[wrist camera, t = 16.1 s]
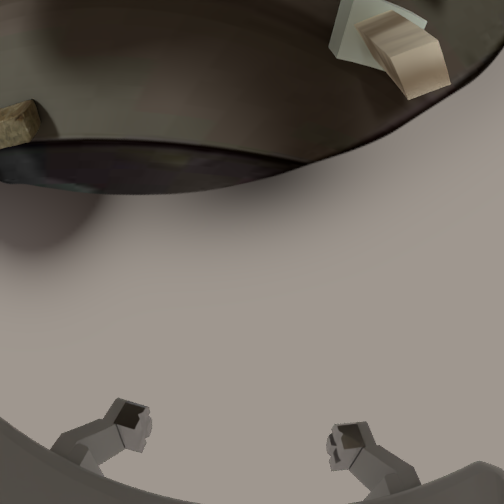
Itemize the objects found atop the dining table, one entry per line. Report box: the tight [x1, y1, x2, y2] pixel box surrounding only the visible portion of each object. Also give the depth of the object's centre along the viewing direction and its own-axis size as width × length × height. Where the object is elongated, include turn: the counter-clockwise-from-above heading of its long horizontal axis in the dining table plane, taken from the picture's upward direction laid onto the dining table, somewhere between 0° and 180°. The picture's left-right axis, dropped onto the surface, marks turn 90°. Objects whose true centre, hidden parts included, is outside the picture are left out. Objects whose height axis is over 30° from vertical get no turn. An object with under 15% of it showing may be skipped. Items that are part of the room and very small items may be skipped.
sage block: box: [328, 0, 427, 71], centre depth 20 cm, size 9×9×4 cm
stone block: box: [0, 99, 41, 149], centre depth 25 cm, size 6×12×5 cm, turn 81°
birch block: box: [354, 10, 451, 100], centre depth 17 cm, size 5×5×9 cm
